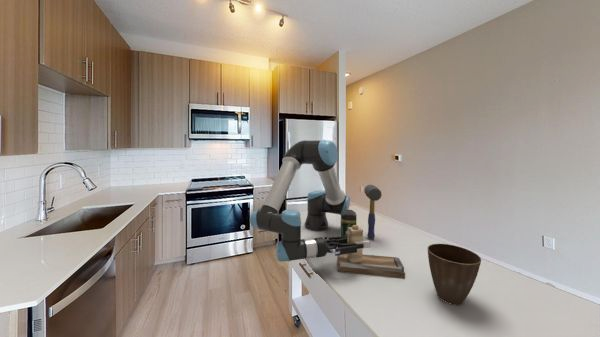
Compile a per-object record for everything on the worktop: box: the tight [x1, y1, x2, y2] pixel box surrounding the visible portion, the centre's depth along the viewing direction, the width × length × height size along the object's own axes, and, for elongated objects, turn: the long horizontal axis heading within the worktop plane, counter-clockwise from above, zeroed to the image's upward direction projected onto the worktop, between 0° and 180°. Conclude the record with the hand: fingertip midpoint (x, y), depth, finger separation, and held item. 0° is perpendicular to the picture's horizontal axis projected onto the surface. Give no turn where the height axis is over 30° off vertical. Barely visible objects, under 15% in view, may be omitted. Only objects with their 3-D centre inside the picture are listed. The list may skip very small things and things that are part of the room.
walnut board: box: [337, 253, 406, 279], centre depth 97 cm, size 13×26×4 cm, turn 80°
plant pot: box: [427, 243, 482, 306], centre depth 77 cm, size 15×15×16 cm
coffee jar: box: [340, 209, 357, 237], centre depth 117 cm, size 10×8×19 cm
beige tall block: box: [347, 224, 364, 263], centre depth 96 cm, size 4×5×15 cm
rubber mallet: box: [363, 184, 382, 240], centre depth 126 cm, size 12×8×30 cm, turn 175°
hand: (366, 241), depth 98 cm, fingers closed on beige tall block, 4 cm apart
